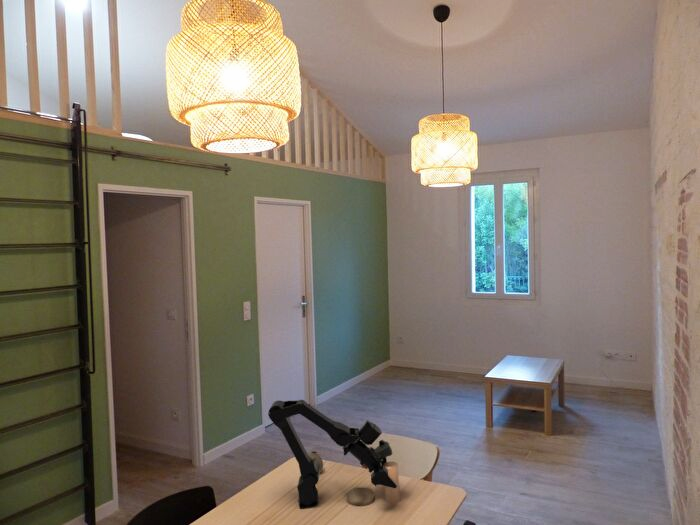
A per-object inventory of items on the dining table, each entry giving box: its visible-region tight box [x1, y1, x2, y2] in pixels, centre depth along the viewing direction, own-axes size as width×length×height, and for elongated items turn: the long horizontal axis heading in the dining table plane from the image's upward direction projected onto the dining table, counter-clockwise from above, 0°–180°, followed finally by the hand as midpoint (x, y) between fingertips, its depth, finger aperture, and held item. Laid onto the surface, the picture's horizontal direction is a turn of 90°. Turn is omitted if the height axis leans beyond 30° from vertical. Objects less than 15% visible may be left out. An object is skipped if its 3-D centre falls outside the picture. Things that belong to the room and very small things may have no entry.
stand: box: [346, 486, 375, 507], centre depth 190 cm, size 10×10×2 cm
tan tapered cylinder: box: [383, 461, 401, 505], centre depth 188 cm, size 5×5×13 cm
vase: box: [308, 450, 324, 474], centre depth 214 cm, size 7×7×9 cm
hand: (395, 481), depth 188 cm, fingers open, 8 cm apart
